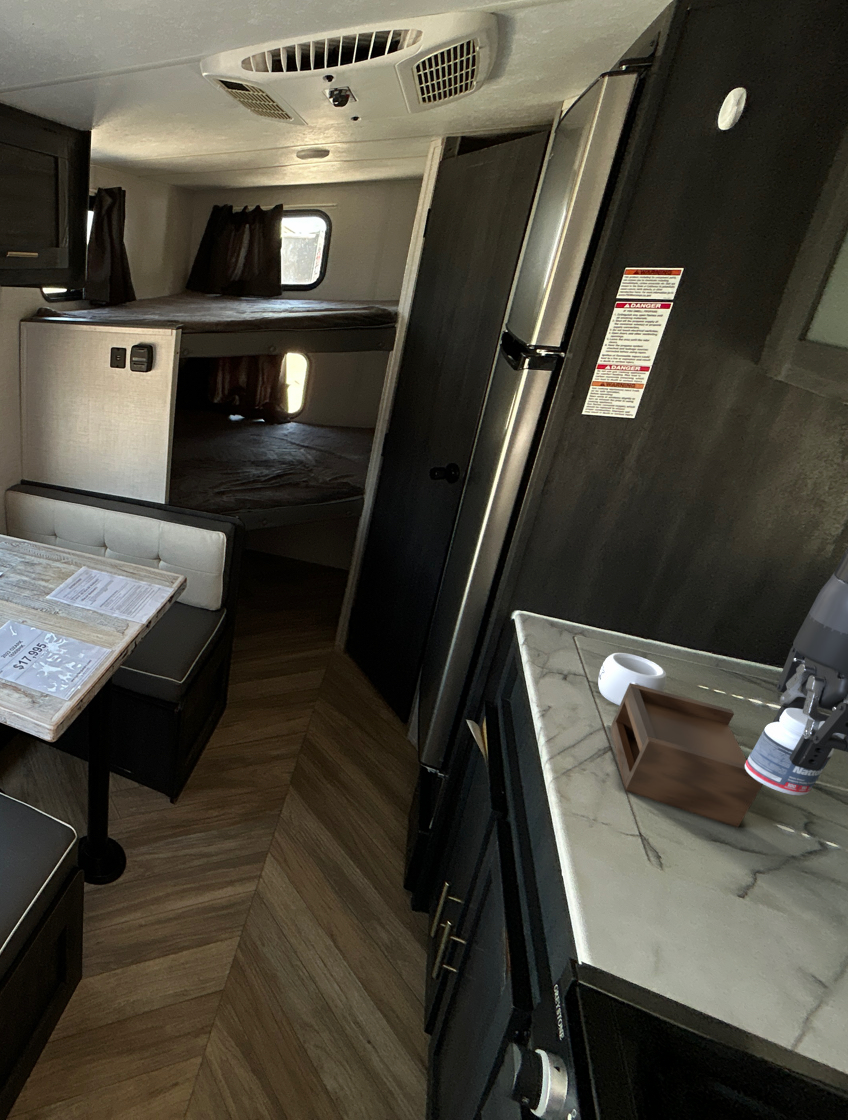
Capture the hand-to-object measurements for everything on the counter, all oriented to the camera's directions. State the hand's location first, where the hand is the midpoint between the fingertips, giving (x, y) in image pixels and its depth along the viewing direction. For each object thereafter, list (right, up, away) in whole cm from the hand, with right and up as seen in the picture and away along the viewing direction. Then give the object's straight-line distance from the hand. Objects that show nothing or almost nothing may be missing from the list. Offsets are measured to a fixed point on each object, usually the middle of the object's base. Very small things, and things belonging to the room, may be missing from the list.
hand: (792, 749), depth 72 cm
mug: (+16, -7, +40) cm, 43 cm away
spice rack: (+9, -13, +24) cm, 29 cm away
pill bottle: (0, -4, +2) cm, 5 cm away
